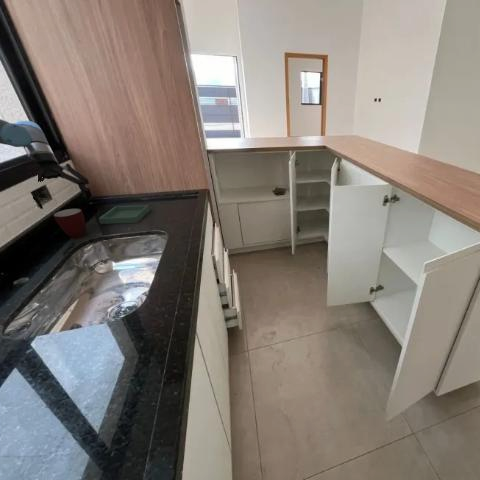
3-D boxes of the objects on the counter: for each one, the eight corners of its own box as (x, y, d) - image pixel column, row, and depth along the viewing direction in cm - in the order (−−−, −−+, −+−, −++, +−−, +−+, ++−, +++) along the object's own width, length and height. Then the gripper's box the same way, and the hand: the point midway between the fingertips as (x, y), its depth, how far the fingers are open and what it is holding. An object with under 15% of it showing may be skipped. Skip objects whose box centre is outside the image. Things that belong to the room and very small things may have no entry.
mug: (71, 230, 108) (60, 207, 103) (95, 227, 111) (86, 205, 106) (61, 242, 100) (49, 218, 95) (87, 238, 102) (77, 215, 98)
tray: (100, 224, 114) (98, 218, 113) (117, 211, 127) (115, 206, 125) (137, 222, 116) (135, 217, 115) (150, 210, 129) (148, 205, 128)
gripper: (83, 159, 116) (104, 199, 115) (0, 168, 100) (23, 215, 99) (80, 148, 111) (102, 191, 109) (-8, 155, 95) (16, 206, 93)
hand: (64, 202), depth 104 cm, fingers open, 13 cm apart
